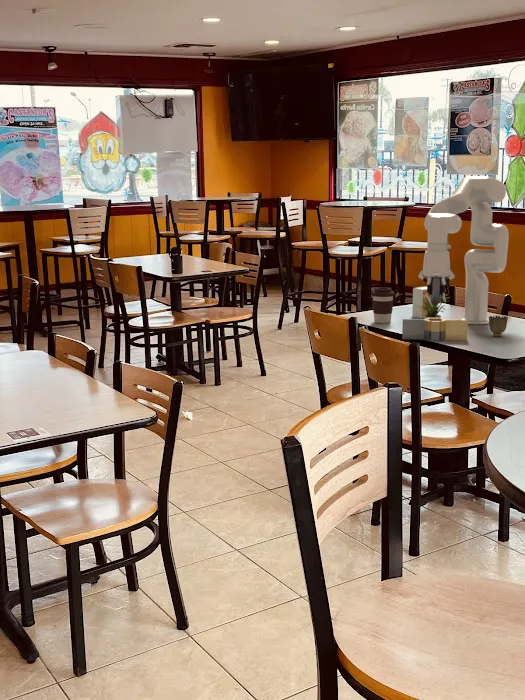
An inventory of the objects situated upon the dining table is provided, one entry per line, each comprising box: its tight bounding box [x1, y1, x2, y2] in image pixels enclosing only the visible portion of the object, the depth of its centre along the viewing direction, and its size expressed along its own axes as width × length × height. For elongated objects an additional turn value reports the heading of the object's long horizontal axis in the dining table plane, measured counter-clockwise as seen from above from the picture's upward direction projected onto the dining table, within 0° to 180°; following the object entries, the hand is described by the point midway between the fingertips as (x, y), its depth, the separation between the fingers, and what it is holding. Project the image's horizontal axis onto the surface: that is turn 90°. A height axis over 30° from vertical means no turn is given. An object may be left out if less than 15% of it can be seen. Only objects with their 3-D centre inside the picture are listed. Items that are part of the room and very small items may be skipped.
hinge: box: [401, 317, 469, 343], centre depth 342 cm, size 8×25×8 cm, turn 81°
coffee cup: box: [371, 286, 395, 324], centre depth 378 cm, size 10×10×15 cm
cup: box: [488, 315, 509, 338], centre depth 346 cm, size 8×7×8 cm
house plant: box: [419, 293, 451, 319], centre depth 358 cm, size 14×14×16 cm
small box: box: [412, 286, 432, 319], centre depth 390 cm, size 8×6×13 cm
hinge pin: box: [430, 273, 442, 304], centre depth 338 cm, size 5×5×12 cm
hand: (435, 294), depth 339 cm, fingers closed on hinge pin, 4 cm apart
